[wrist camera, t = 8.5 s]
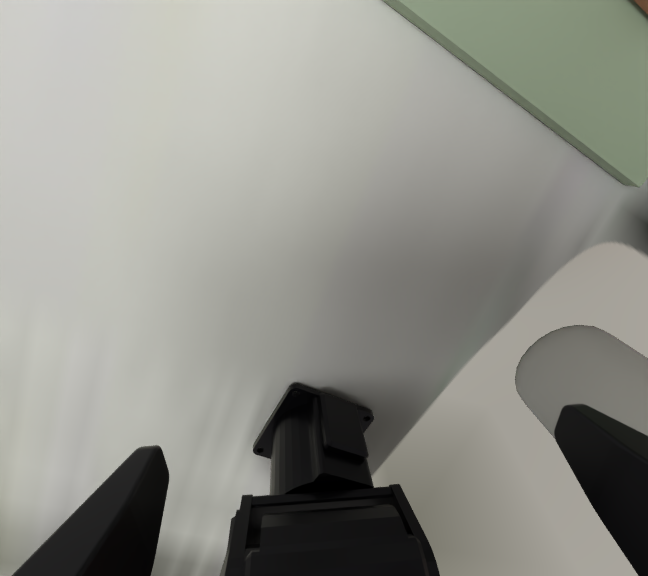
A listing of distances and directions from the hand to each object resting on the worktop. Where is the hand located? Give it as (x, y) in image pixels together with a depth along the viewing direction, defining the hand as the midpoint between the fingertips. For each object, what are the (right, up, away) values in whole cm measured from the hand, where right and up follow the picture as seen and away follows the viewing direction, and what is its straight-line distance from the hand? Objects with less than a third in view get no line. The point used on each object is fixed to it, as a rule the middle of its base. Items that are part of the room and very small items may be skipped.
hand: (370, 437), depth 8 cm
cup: (+17, -3, +18) cm, 25 cm away
